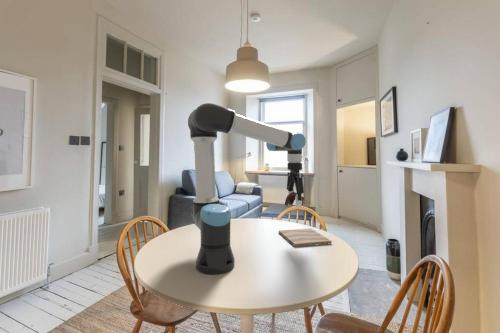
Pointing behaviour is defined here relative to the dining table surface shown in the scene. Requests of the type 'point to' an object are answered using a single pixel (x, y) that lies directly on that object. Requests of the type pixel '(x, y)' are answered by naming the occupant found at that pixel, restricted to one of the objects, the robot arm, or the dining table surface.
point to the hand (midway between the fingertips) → (294, 204)
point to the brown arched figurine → (292, 199)
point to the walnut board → (303, 237)
